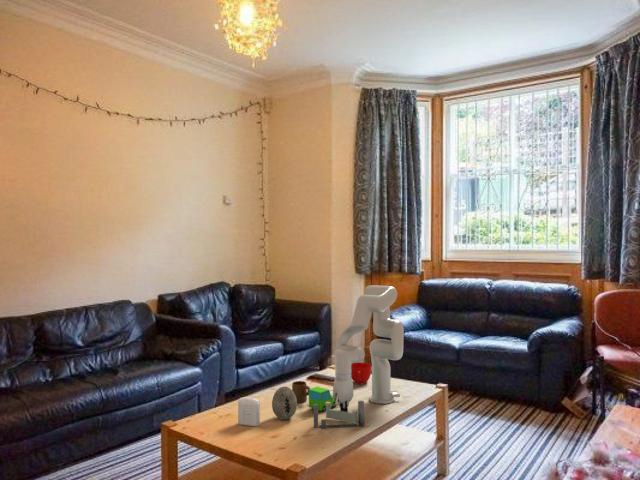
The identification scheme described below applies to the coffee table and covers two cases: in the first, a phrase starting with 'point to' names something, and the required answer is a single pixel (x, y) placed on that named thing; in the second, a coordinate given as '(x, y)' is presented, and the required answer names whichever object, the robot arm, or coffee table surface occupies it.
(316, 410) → the gate posts
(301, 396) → the mug
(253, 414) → the photo printer
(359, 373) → the ceramic cup
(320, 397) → the green toy car
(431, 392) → the coffee table surface
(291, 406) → the decorative egg
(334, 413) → the gate
